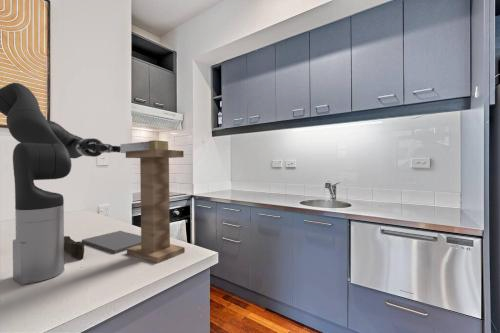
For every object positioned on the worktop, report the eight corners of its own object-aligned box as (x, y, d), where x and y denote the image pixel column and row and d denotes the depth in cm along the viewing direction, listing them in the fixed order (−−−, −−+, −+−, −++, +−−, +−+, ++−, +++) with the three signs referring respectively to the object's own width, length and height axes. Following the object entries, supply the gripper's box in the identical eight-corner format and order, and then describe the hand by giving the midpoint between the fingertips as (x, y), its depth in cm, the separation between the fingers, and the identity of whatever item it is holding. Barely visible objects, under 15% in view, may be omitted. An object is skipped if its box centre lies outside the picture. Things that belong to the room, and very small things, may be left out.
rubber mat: (115, 253, 76) (115, 250, 76) (81, 242, 88) (81, 239, 88) (153, 241, 88) (153, 238, 88) (119, 233, 99) (119, 230, 99)
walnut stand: (157, 263, 68) (156, 149, 68) (126, 253, 76) (125, 151, 76) (184, 252, 76) (183, 150, 76) (154, 244, 84) (153, 152, 84)
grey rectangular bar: (155, 150, 72) (155, 140, 72) (117, 152, 83) (117, 144, 83) (168, 151, 76) (168, 141, 76) (131, 153, 87) (131, 145, 87)
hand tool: (56, 249, 82) (56, 235, 82) (70, 245, 85) (70, 232, 85) (71, 263, 69) (70, 247, 69) (87, 259, 72) (87, 243, 72)
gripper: (70, 136, 97) (88, 135, 87) (108, 140, 108) (127, 140, 99) (69, 155, 97) (86, 156, 87) (106, 157, 108) (126, 158, 99)
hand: (108, 148), depth 93 cm, fingers open, 8 cm apart
